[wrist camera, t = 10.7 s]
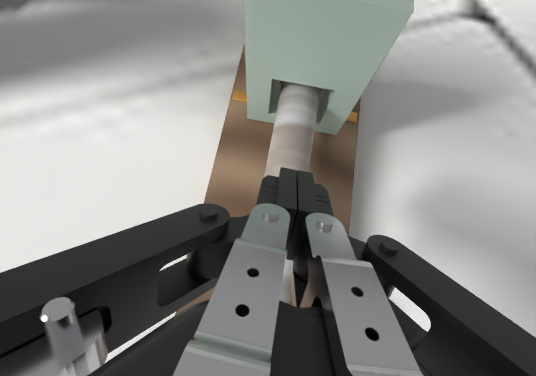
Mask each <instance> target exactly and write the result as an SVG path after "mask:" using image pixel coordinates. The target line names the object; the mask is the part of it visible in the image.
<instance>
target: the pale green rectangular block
mask: <svg viewBox="0 0 536 376" xmlns="http://www.w3.org/2000/svg"><path fill="white" fill-rule="evenodd" d="M243 5H244V34H245V63H246V92H247V119H253V120H258V121H263V122H269V123H275V118H276V112H277V107H278V102H279V97H280V92H281V84H280V80H281V81H286V82H292V83H297V84H302V85H308V86H313V87H319V88H323V89H322V90H321V91H320V96H319V103H318V110H317V117H316V124H315V131H317V132H322V133H328V134H333V135H337V133H338V132H339V130H340V129H341V127H342V125H343V124H344V122H345V120H346V119H347V117H348V116H349V114H350V112H351V111H352V109H353V108H354V106H355V104H356V103H357V101H358V100H359V98H360V96H361V95H362V93H363V92H364V90H365V88H366V87H367V85H368V84H369V82H370V80H371V79H372V77H373V76H374V74H375V72H376V71H377V69H378V67H379V66H380V64H381V63H382V61H383V59H384V58H385V56H386V55H387V53H388V51H389V50H390V48H391V47H392V45H393V43H394V42H395V40H396V39H397V37H398V35H399V34H400V32H401V31H402V29H403V27H404V26H405V24H406V23H407V21H408V19H409V18H410V16H411V14H412V13H413V11H414V0H243Z"/></svg>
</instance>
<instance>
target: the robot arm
mask: <svg viewBox="0 0 536 376" xmlns="http://www.w3.org/2000/svg"><path fill="white" fill-rule="evenodd" d="M186 254H187V258H186V259H184V260H182V261H180V262H178V263H176V264H174V265H172V266H170V267H168V268H166V269H163V270H161V271H160V269H161V268H162V267H163V266H165V265H166V264H168V263H170V262H172V261H174V260H176V259H178V258H180V257H182V256H184V255H186ZM285 258H286V259H287V260H292V261H293V267H292V270H291V274H290V282H291V294H292V305H290V304H288V303H285V302H283V301H280V300H279V299H280V292H281V285H282V279H283V272H284V265H285ZM215 286H216V287H215ZM214 287H215V289H214V291H213V294H212V296H211V298H210V300H206V301H203V302H200V303H197V304H195V305H192V306H190V307H188V308H186V309H185V310H183V311H181V312H180V313H178V314H177V315H175V316H174V317H173V318H171V319H170V320H168V321H167V322H165V323H164V324H162V325H161V326H159V327H158V328H156V329H155V330H153V331H152V332H150V333H149V334H147V335H146V336H145V337H143V338H142V339H140V340H139V341H137V342H136V343H134V344H133V345H131V346H130V347H128V348H127V349H125V350H124V351H122V352H121V353H120V354H118V355H117V356H115V357H114V358H112V359H111V360H109V361H108V362H106V363H105V361H106V358H107V354H108V353H110V352H112V351H113V350H115V349H116V348H118V347H119V346H121V345H123V344H124V343H126V342H127V341H129V340H131V339H132V338H134V337H135V336H137V335H139V334H140V333H142V332H143V331H145V330H147V329H148V328H150V327H151V326H153V325H155V324H156V323H158V322H159V321H161V320H163V319H164V318H166V317H167V316H169V315H171V314H172V313H174V312H175V311H177V310H179V309H180V308H182V307H183V306H185V305H187V304H188V303H190V302H191V301H193V300H195V299H196V298H198V297H199V296H201V295H203V294H204V293H206V292H207V291H209V290H211V289H212V288H214ZM395 287H396V288H397V289H398V290H399V291H400V292H402V293H403V294H404V295H405V296H406V297H408V298H409V299H410V300H411V301H412V302H414V303H415V304H416V305H417V306H418V307H420V308H421V309H422V310H423V311H424V312H425V313H426V314H427V315H428V317H429V319H430V322H431V328H430V330H429V331H428V332H427V331H425V330H424V329H422V328H421V327H420V326H419V325H418V324H417V323H416V322H414V321H413V320H412V319H411V318H410V317H409V316H408V315H407V314H406V313H404V312H403V311H402V310H401V309H400V308H399V307H398V306H397V305H395V304H394V303H393V302H392V301H391V300H390V299H389V297H390V295H391V294H392V292H393V290H394V288H395ZM104 363H105V364H104ZM0 376H536V338H535V337H534V336H532V335H531V334H530V333H528V332H527V331H525V330H524V329H522V328H521V327H520V326H518V325H517V324H515V323H514V322H512V321H511V320H510V319H508V318H507V317H505V316H504V315H502V314H501V313H500V312H498V311H497V310H495V309H494V308H492V307H491V306H490V305H488V304H487V303H485V302H484V301H482V300H481V299H480V298H478V297H477V296H475V295H474V294H472V293H471V292H470V291H468V290H467V289H465V288H464V287H462V286H461V285H460V284H458V283H457V282H455V281H454V280H452V279H451V278H450V277H448V276H447V275H445V274H444V273H442V272H441V271H440V270H438V269H437V268H435V267H434V266H432V265H431V264H430V263H428V262H427V261H425V260H424V259H422V258H421V257H420V256H418V255H417V254H415V253H414V252H412V251H411V250H410V249H408V248H407V247H405V246H404V245H402V244H401V243H399V242H398V241H396V240H394V239H392V238H390V237H387V236H383V235H373V236H370V237H369V238H368V240H367V242H366V243H364V242H362V241H359V240H357V239H354V238H352V237H350V236H348V235H347V234H346V231H345V229H344V226H343V224H342V223H341V222H340V221H339V220H338V219H336V218H334V215H333V211H332V207H331V203H330V198H329V194H328V191H327V190H326V189H325V188H324V186H323V185H320V184H315V183H314V178H313V173H311V172H306V171H300V170H297V171H296V170H295V169H289V168H284V167H281V168H280V172H279V177H276V176H271V175H267V176H266V177H264V178H263V179H262V182H261V186H260V190H259V195H258V199H257V203H256V206H255V207H254V208H253V209H252V211H251V214H249V215H246V216H242V217H230V214H229V212H228V211H227V210H226V209H225V208H224V207H222V206H219V205H216V204H209V203H206V204H199V205H196V206H193V207H190V208H187V209H184V210H181V211H178V212H175V213H172V214H169V215H167V216H164V217H161V218H158V219H155V220H152V221H149V222H146V223H143V224H141V225H138V226H135V227H132V228H129V229H126V230H123V231H120V232H117V233H114V234H112V235H109V236H106V237H103V238H100V239H97V240H94V241H91V242H88V243H86V244H83V245H80V246H77V247H74V248H71V249H68V250H65V251H62V252H59V253H57V254H54V255H51V256H48V257H45V258H42V259H39V260H36V261H33V262H30V263H28V264H25V265H22V266H19V267H16V268H13V269H10V270H7V271H4V272H2V273H0Z"/></svg>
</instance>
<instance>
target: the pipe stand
mask: <svg viewBox="0 0 536 376" xmlns="http://www.w3.org/2000/svg"><path fill="white" fill-rule="evenodd" d="M280 84H281V92H280V97H279V102H278V107H277V112H276V118H275V123H269V122H263V121H258V120H253V119H247V92H246V63H245V44H244V48H243V51H242V55H241V59H240V63H239V67H238V71H237V75H236V79H235V83H234V87H233V91H232V95H231V99H230V102H229V106H228V110H227V114H226V118H225V122H224V126H223V130H222V134H221V138H220V142H219V146H218V150H217V153H216V157H215V161H214V165H213V169H212V173H211V177H210V181H209V185H208V189H207V193H206V197H205V201H204V204H206V203H209V204H216V205H219V206H222V207H224V208H225V209H226V210H227V211H228V212H229V214H230V217H242V216H246V215H249V214H251V211H252V209H253V208H254V207H255V206H256V203H257V199H258V195H259V190H260V186H261V182H262V179H263V178H264V177H266V176H267V175H271V176H276V177H279V172H280V168H281V167H284V168H289V169H295V170H296V171H297V170H300V171H306V172H311V173H313V178H314V183H315V184H320V185H323V186H324V188H325V189H326V190H327V191H328V194H329V198H330V203H331V207H332V211H333V215H334V218H336V219H338V220H339V221H340V222H341V223H342V224H343V226H344V229H345V231H346V234H347V235H348V234H349V222H350V211H351V199H352V188H353V177H354V165H355V154H356V143H357V131H358V120H359V109H360V98H359V100H358V101H357V103H356V104H355V106H354V108H353V109H352V111H351V112H350V114H349V116H348V117H347V119H346V120H345V122H344V124H343V125H342V127H341V129H340V130H339V132H338V133H337V135H333V134H328V133H322V132H317V131H315V124H316V117H317V110H318V103H319V96H320V91H321V90H322V89H323V88H319V87H313V86H308V85H302V84H297V83H292V82H286V81H281V80H280ZM360 97H361V96H360ZM292 267H293V261H292V260H287V259H286V258H285V265H284V272H283V279H282V285H281V292H280V299H279V300H280V301H283V302H285V303H288V304H290V305H292V294H291V282H290V274H291V270H292ZM215 287H216V286H215ZM215 287H214V288H212V289H211V290H209V291H207V292H206V293H204V294H203V295H201V296H199V297H198V298H196V299H195V300H193V301H191V302H190V303H188V304H187V305H185V306H183V307H182V308H180V309H179V310H177V311H176V314H175V315H177V314H178V313H180V312H181V311H183V310H185V309H186V308H188V307H190V306H192V305H195V304H197V303H200V302H203V301H206V300H210V298H211V296H212V294H213V291H214V289H215Z"/></svg>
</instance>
